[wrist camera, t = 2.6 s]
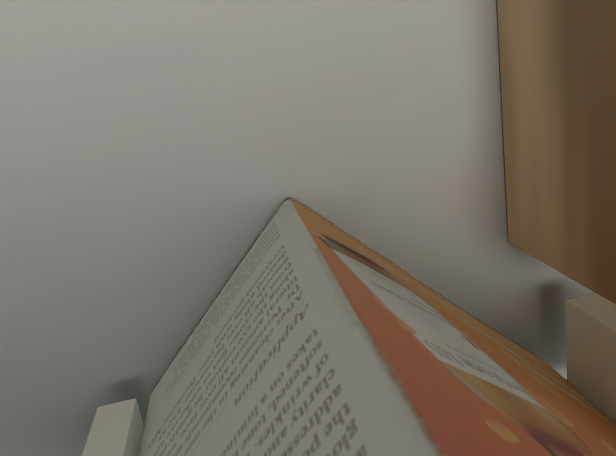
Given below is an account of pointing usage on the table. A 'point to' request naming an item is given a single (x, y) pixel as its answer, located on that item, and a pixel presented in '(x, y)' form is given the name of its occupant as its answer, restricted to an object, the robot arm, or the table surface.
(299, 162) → the table surface
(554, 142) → the wooden tray
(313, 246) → the small box
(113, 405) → the robot arm
